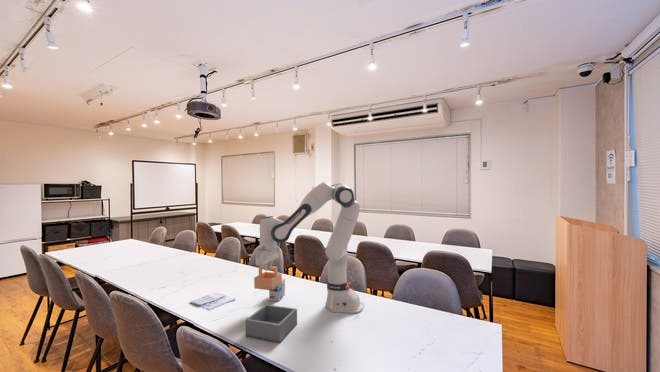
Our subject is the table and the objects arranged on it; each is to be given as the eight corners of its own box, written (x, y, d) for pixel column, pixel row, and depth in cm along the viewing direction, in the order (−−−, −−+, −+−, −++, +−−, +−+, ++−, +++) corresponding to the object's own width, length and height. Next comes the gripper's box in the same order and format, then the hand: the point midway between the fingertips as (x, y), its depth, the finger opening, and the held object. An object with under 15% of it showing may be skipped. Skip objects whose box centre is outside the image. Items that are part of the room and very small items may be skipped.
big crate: (297, 324, 141) (296, 308, 141) (279, 343, 124) (279, 325, 124) (266, 319, 147) (266, 304, 147) (245, 337, 130) (245, 319, 130)
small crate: (281, 283, 160) (281, 264, 160) (271, 290, 150) (271, 270, 150) (265, 281, 163) (264, 263, 164) (254, 288, 153) (254, 268, 153)
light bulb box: (279, 301, 170) (278, 283, 170) (268, 300, 171) (268, 283, 172) (285, 294, 181) (285, 278, 181) (275, 294, 182) (275, 277, 182)
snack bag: (217, 294, 184) (217, 290, 185) (236, 300, 173) (236, 297, 173) (189, 303, 169) (189, 300, 169) (207, 312, 157) (207, 308, 157)
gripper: (262, 249, 146) (263, 275, 146) (281, 241, 165) (281, 265, 165) (252, 248, 148) (252, 274, 148) (272, 241, 167) (272, 264, 167)
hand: (268, 269), depth 157 cm, fingers closed on small crate
